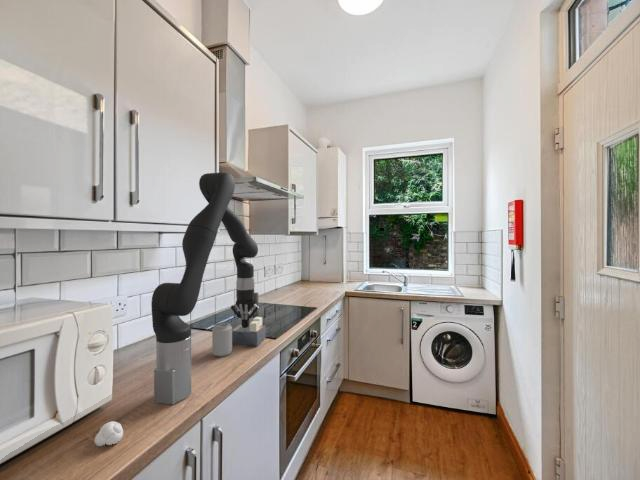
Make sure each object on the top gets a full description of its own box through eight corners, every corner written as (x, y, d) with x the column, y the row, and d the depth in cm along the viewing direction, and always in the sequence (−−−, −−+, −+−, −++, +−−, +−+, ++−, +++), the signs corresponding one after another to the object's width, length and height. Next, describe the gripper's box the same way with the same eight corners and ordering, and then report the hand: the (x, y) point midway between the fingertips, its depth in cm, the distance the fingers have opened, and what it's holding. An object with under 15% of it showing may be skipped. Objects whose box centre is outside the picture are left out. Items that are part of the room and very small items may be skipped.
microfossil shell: (124, 422, 66) (118, 413, 70) (95, 434, 63) (91, 425, 67) (125, 441, 66) (120, 432, 70) (96, 455, 63) (92, 444, 66)
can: (226, 358, 111) (226, 327, 111) (208, 356, 113) (208, 326, 112) (235, 350, 119) (235, 321, 118) (218, 349, 120) (218, 320, 120)
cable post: (258, 337, 134) (258, 294, 133) (249, 336, 135) (249, 293, 134) (262, 334, 138) (261, 292, 138) (253, 333, 139) (253, 291, 138)
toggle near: (256, 331, 123) (256, 323, 123) (249, 331, 123) (249, 323, 123) (259, 329, 126) (259, 321, 126) (252, 328, 127) (252, 320, 127)
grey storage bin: (257, 346, 123) (257, 332, 122) (230, 344, 125) (230, 330, 124) (265, 338, 132) (265, 325, 132) (241, 336, 134) (241, 323, 134)
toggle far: (259, 327, 129) (259, 319, 129) (253, 326, 129) (253, 319, 129) (262, 324, 132) (262, 317, 132) (256, 324, 133) (256, 316, 133)
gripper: (226, 288, 123) (227, 329, 123) (256, 289, 120) (256, 331, 120) (235, 285, 130) (235, 323, 130) (263, 286, 127) (263, 325, 128)
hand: (245, 327), depth 125 cm, fingers closed
